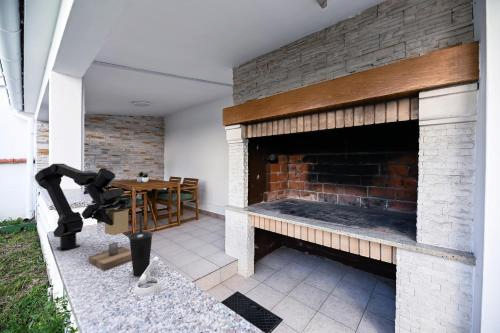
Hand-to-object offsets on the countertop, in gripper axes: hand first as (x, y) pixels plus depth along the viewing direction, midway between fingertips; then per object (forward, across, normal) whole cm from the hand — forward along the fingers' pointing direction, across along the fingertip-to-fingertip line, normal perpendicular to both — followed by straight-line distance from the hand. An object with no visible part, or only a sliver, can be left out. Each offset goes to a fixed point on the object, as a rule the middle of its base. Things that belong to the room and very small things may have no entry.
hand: (119, 222), depth 90 cm
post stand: (+11, -5, +8) cm, 15 cm away
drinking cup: (+24, -10, -5) cm, 26 cm away
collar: (+2, 0, +4) cm, 4 cm away
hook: (+30, -16, -11) cm, 36 cm away
